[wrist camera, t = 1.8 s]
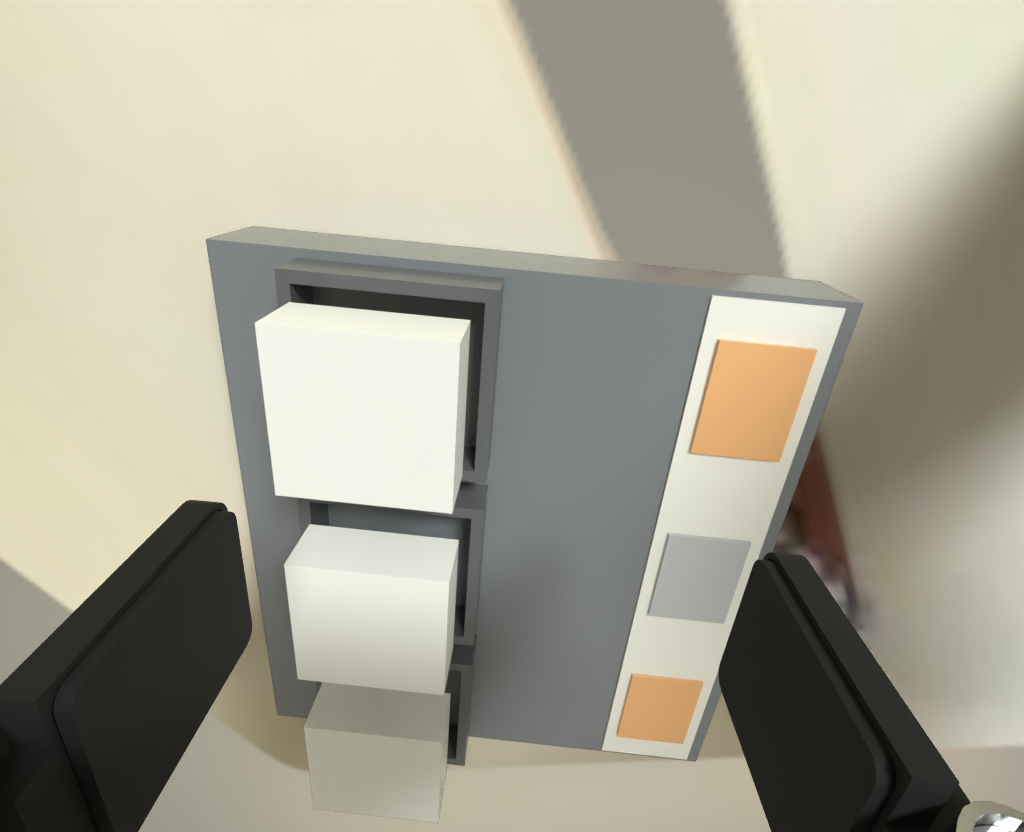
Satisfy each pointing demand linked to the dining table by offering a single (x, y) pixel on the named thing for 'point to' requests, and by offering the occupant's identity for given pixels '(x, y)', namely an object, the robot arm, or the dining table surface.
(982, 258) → the dining table surface
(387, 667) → the switch
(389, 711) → the switch
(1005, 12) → the dining table surface
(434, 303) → the switch box
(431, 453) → the switch
